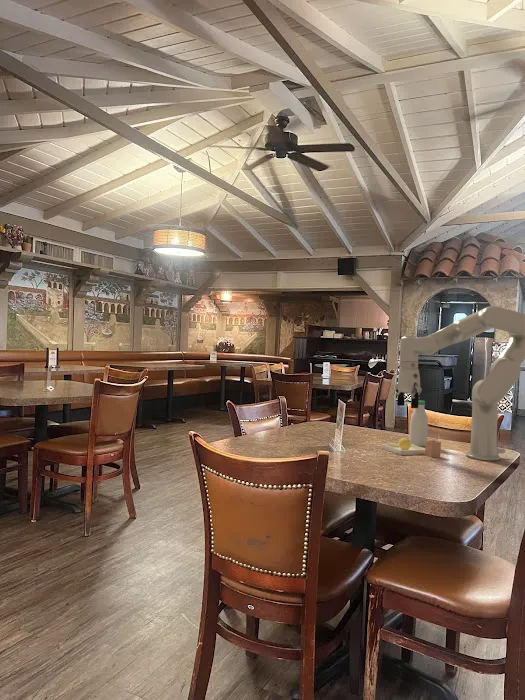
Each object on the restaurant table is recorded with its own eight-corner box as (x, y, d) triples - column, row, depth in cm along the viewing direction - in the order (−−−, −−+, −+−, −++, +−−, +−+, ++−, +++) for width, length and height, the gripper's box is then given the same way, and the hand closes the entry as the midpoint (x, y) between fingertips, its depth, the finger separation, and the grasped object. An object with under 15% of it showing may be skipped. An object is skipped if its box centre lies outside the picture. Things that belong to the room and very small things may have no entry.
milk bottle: (429, 447, 227) (431, 401, 226) (411, 446, 227) (413, 401, 227) (424, 443, 234) (425, 400, 234) (407, 443, 234) (408, 399, 234)
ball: (406, 448, 217) (406, 436, 218) (413, 450, 213) (413, 438, 213) (396, 449, 216) (396, 437, 216) (403, 451, 211) (403, 439, 211)
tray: (409, 447, 223) (409, 443, 223) (429, 454, 210) (429, 449, 210) (381, 448, 219) (381, 443, 219) (399, 455, 205) (400, 450, 205)
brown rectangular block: (433, 454, 209) (434, 440, 209) (440, 457, 205) (441, 442, 205) (424, 455, 208) (425, 440, 208) (431, 457, 204) (432, 442, 204)
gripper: (429, 367, 208) (428, 409, 208) (404, 365, 224) (403, 404, 224) (413, 366, 205) (412, 409, 205) (389, 365, 222) (388, 404, 221)
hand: (407, 406), depth 215 cm, fingers open, 9 cm apart
